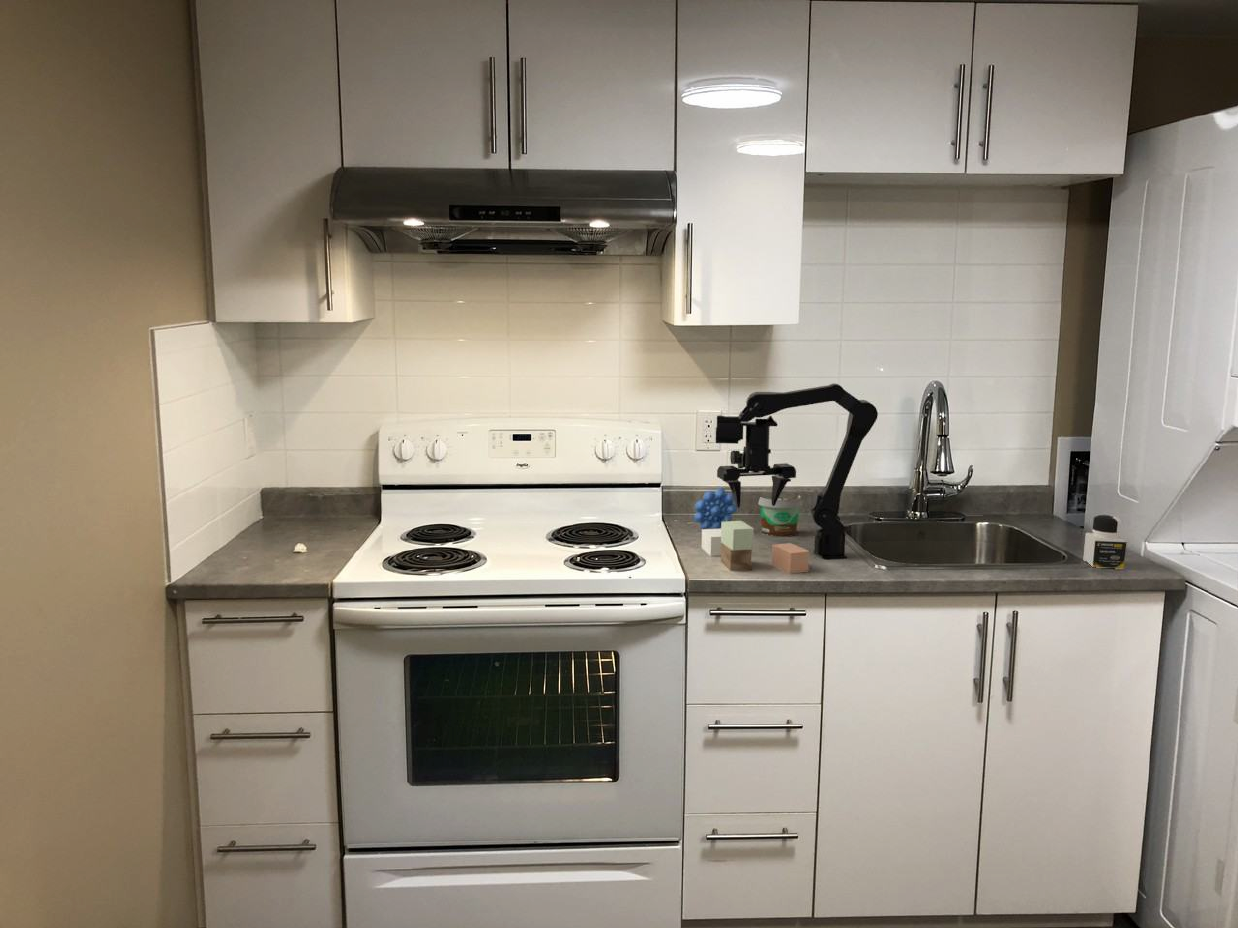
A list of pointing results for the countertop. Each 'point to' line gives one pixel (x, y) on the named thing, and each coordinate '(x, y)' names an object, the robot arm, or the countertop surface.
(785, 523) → the food container
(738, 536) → the sage brick
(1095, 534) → the medicine bottle
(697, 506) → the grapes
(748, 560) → the walnut brick
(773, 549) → the terracotta brick
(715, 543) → the off-white brick
